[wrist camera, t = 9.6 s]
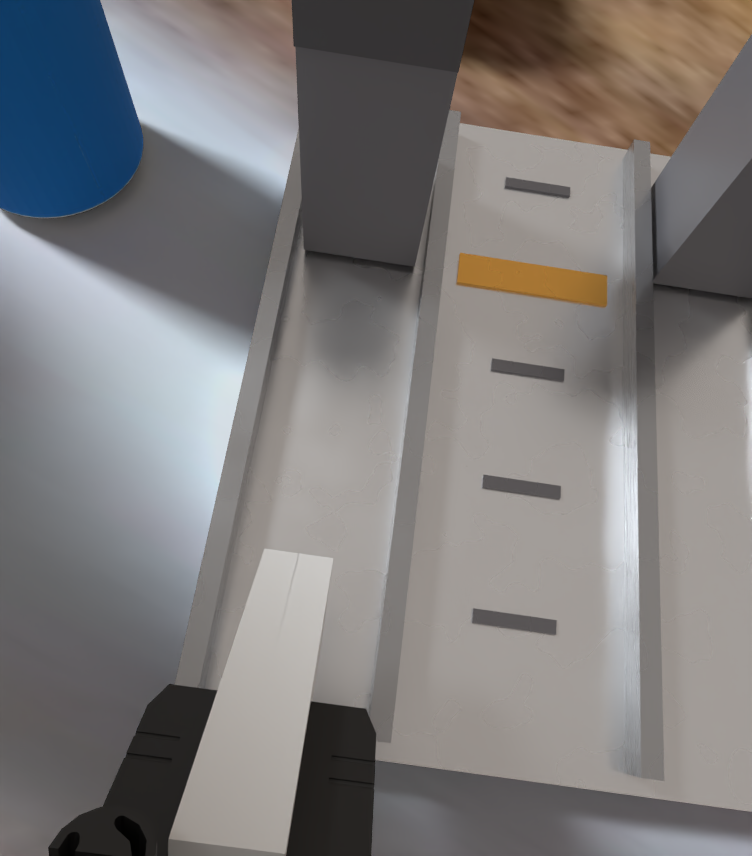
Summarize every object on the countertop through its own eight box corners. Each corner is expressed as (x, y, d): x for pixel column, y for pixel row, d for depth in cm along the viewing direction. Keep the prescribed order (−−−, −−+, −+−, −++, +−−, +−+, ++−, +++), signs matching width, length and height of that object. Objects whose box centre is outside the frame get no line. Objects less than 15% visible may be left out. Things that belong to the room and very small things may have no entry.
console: (179, 726, 20) (155, 733, 17) (306, 138, 28) (304, 76, 25) (790, 811, 20) (866, 831, 17) (741, 207, 28) (787, 153, 25)
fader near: (301, 254, 23) (287, -47, 14) (321, 153, 25) (322, -179, 15) (415, 272, 23) (480, -16, 14) (428, 170, 25) (494, -150, 15)
